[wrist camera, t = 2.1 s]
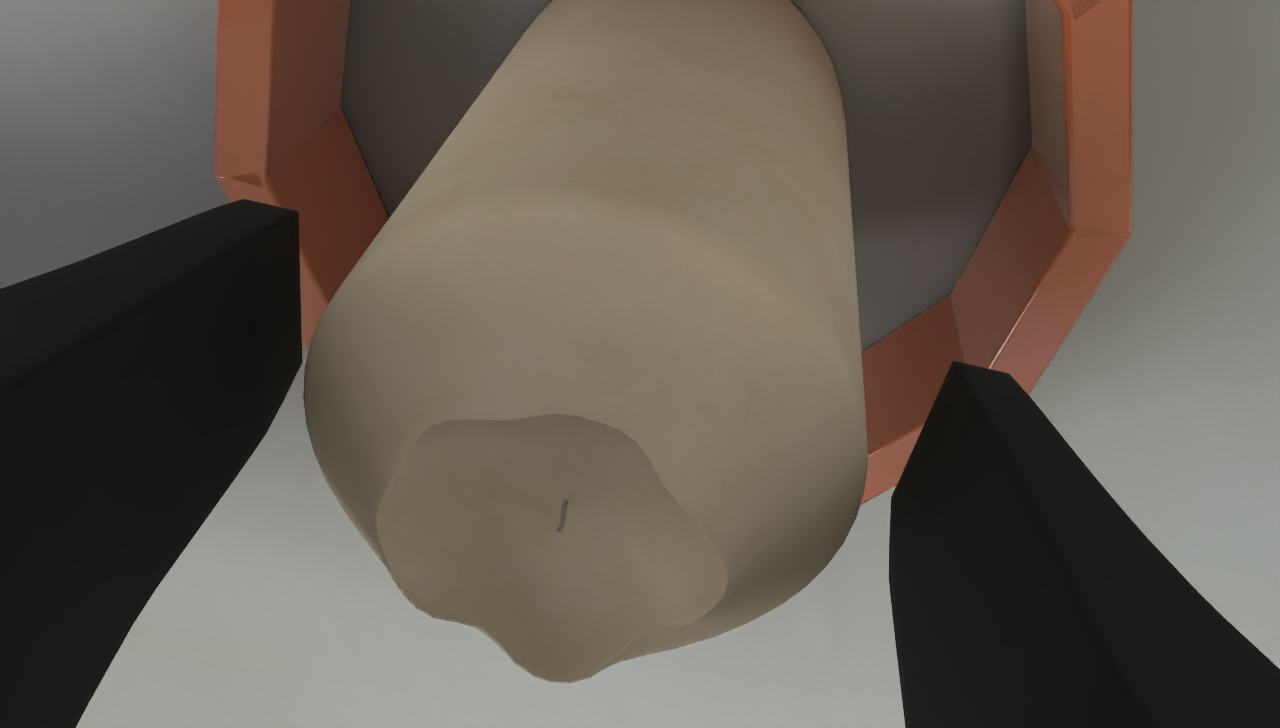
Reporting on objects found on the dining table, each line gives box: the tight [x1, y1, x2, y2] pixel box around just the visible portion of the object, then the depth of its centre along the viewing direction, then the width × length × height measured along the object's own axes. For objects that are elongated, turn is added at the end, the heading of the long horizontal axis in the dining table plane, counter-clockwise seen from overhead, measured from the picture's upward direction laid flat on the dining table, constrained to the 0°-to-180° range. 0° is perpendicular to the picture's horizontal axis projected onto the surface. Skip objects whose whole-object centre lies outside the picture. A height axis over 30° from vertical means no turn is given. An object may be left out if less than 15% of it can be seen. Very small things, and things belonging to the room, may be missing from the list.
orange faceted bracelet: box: [215, 0, 1133, 505], centre depth 16 cm, size 13×13×3 cm
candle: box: [303, 0, 868, 683], centre depth 13 cm, size 6×6×10 cm
